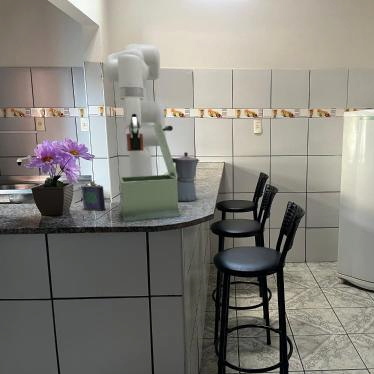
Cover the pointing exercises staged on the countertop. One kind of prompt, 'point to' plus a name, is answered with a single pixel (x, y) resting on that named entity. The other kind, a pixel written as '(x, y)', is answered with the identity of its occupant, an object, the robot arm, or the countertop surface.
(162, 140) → the breadbox lid
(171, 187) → the box
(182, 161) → the moka pot
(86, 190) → the flask
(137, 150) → the block
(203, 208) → the countertop surface
